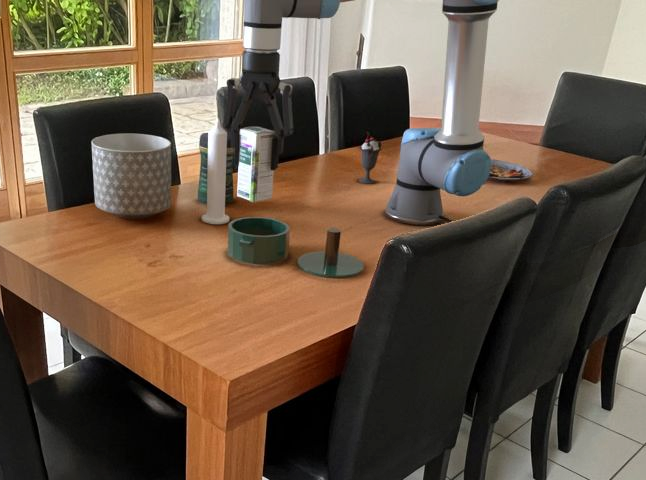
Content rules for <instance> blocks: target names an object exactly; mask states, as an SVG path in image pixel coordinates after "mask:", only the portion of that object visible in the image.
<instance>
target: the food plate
mask: <svg viewBox="0 0 646 480" xmlns="http://www.w3.org/2000/svg"><path fill="white" fill-rule="evenodd" d="M491 162H492V167H491V172H490V175H489V177H488V179H494V180H498V181H501V182H502V181H503V182H504V181H506V182H509V181H520V180H528V179H529V180H530V179H532V178H533V177H534V173H532V172H531V171H530V170H529V169H528V168H527V167H525V166H523V165H521V164H518V163H513V162H509V161H505V160H501V159H493V158H491Z"/></svg>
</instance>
